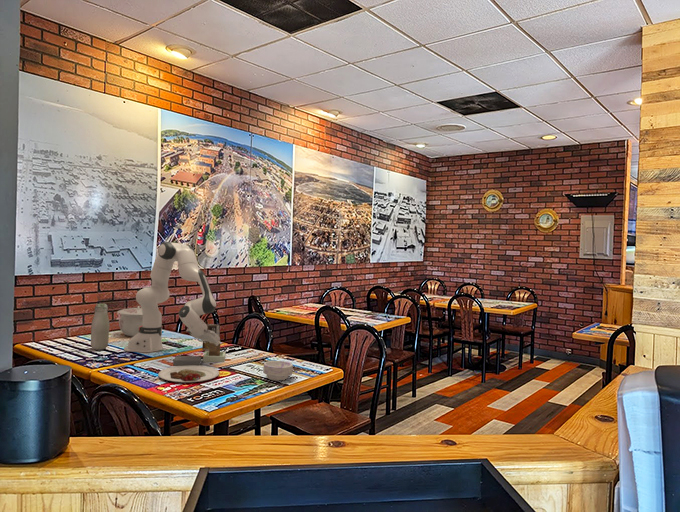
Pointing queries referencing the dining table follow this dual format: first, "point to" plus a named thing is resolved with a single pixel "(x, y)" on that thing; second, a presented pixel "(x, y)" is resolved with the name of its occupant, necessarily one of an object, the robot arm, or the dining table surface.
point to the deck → (186, 360)
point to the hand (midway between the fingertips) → (211, 343)
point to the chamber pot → (130, 320)
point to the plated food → (188, 373)
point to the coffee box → (215, 329)
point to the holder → (214, 357)
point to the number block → (214, 349)
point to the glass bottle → (100, 327)
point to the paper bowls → (277, 370)
